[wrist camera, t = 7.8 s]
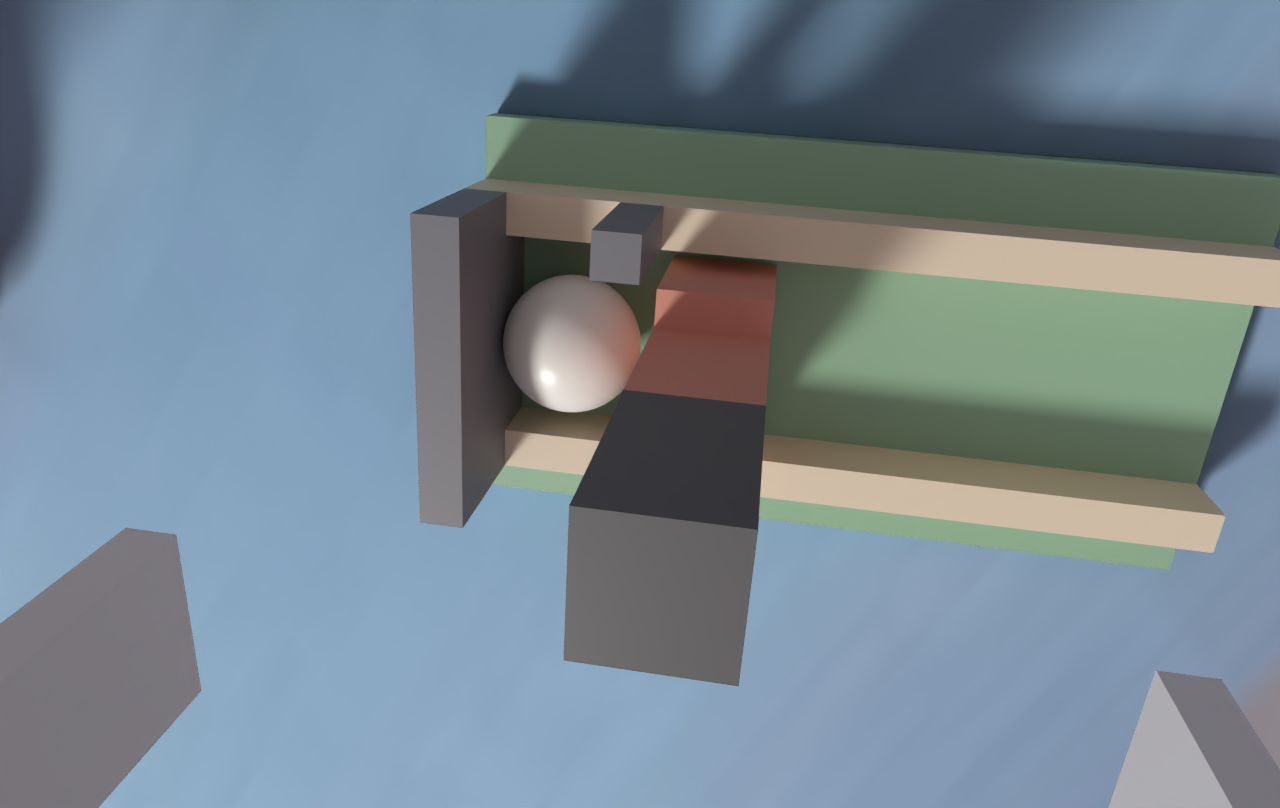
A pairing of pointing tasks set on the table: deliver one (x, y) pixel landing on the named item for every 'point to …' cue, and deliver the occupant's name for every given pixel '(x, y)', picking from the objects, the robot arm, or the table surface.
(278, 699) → the table surface
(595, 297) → the ball
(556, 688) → the table surface
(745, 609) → the black and red block
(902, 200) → the pitch
